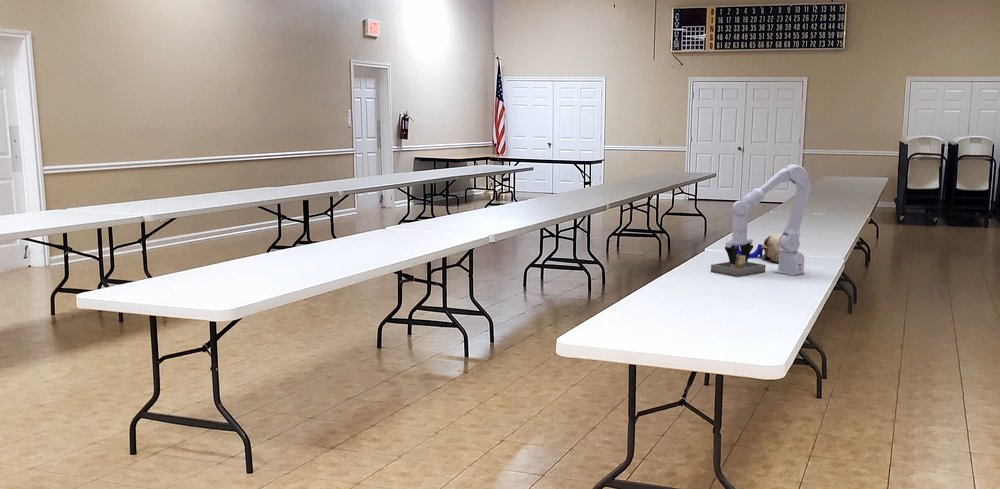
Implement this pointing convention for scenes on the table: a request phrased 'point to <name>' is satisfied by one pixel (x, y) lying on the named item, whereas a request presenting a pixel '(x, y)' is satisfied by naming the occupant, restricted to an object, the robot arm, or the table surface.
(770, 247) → the coin bank
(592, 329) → the table surface
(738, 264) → the maple block
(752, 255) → the cable clip
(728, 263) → the tray
